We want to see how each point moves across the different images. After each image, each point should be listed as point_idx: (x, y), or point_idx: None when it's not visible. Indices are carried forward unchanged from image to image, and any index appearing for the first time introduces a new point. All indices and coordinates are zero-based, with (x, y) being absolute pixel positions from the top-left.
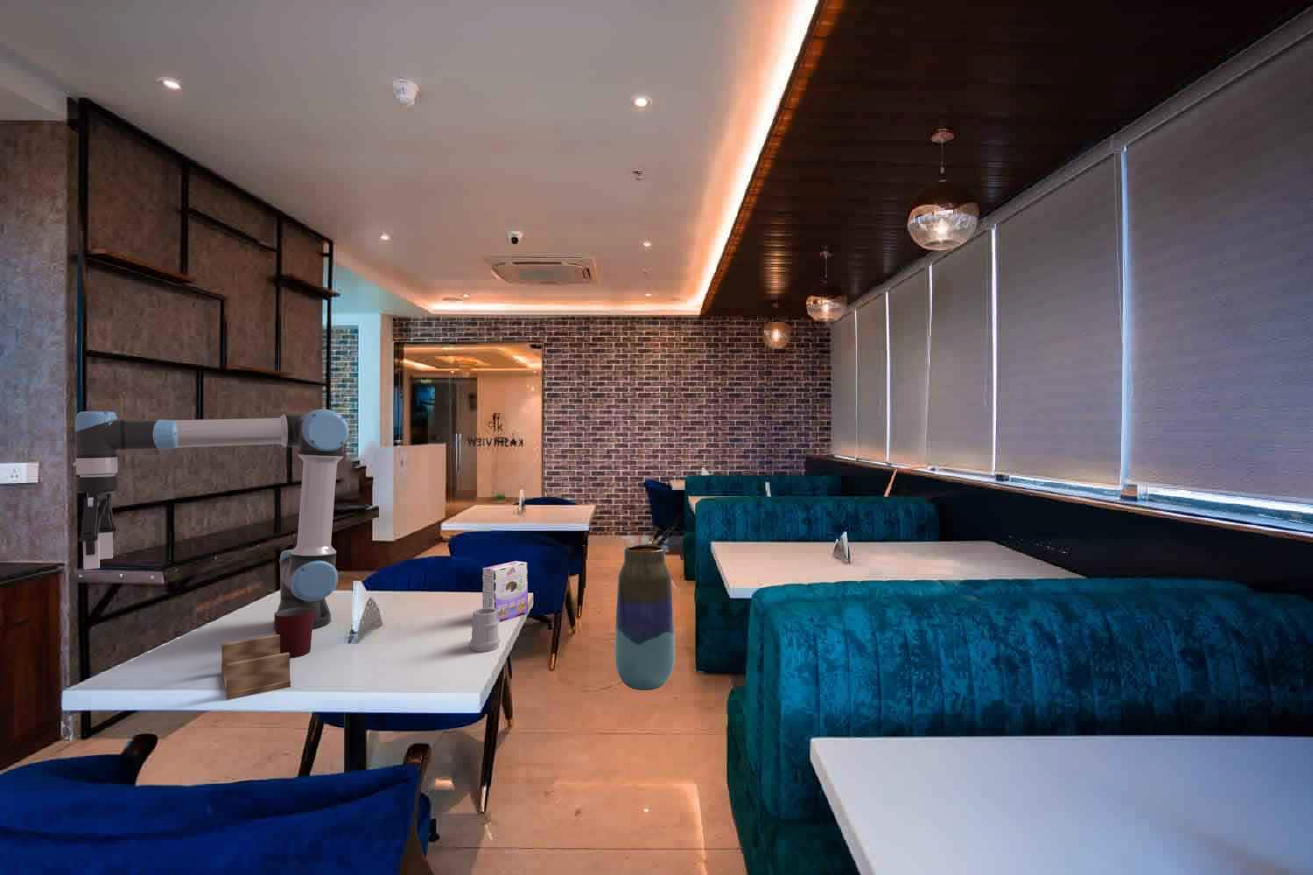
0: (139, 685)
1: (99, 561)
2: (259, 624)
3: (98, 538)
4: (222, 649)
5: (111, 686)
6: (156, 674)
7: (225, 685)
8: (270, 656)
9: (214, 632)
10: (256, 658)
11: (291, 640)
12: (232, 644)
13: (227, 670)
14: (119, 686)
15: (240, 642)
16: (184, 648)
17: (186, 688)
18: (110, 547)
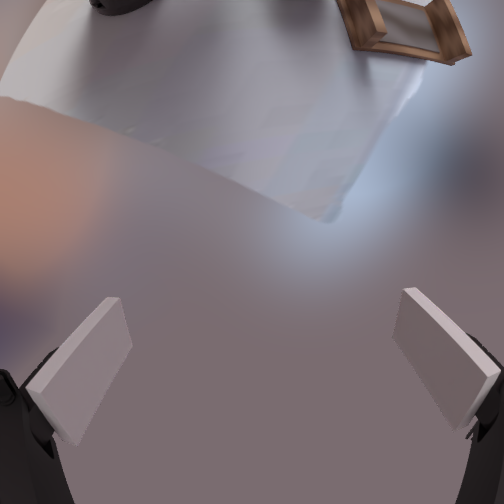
0: (359, 148)
1: (419, 302)
2: (88, 42)
3: (89, 420)
4: (384, 35)
5: (343, 185)
6: (314, 129)
7: (429, 57)
8: (452, 12)
9: (93, 95)
10: (456, 23)
11: None
12: (382, 21)
13: (468, 56)
14: (349, 174)
15: (379, 11)
16: (168, 113)
17: (401, 93)
18: (94, 335)
